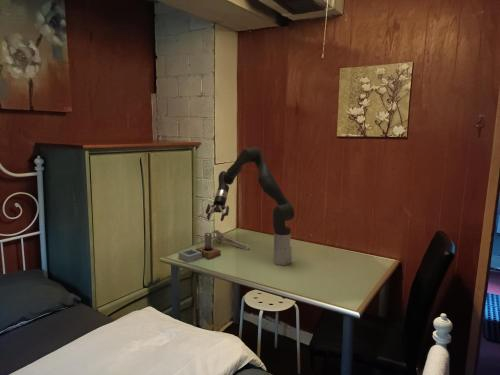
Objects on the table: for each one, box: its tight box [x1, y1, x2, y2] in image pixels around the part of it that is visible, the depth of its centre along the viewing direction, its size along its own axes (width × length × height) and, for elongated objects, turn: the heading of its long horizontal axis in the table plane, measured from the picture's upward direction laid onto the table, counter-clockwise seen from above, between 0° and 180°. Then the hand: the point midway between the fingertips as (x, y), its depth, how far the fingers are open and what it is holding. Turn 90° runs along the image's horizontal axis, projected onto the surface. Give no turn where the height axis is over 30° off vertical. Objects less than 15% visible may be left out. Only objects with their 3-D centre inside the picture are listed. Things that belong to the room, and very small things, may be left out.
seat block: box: [178, 248, 203, 263], centre depth 211 cm, size 10×10×4 cm
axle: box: [204, 232, 213, 251], centre depth 217 cm, size 4×4×13 cm
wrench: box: [211, 229, 251, 251], centre depth 235 cm, size 8×2×30 cm
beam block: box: [195, 245, 222, 260], centre depth 217 cm, size 12×9×4 cm
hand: (214, 220), depth 226 cm, fingers open, 8 cm apart
